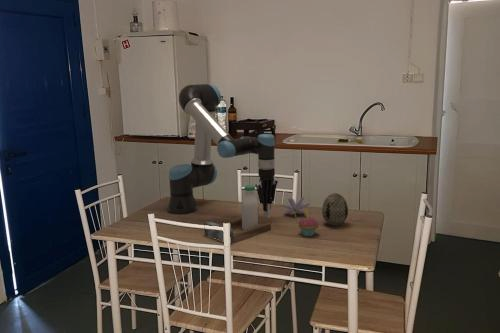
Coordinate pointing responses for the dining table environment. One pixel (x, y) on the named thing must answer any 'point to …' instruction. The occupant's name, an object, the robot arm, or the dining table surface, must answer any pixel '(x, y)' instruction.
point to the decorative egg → (335, 209)
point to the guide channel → (239, 235)
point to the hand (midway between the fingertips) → (267, 216)
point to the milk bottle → (250, 208)
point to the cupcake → (308, 225)
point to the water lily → (295, 206)
